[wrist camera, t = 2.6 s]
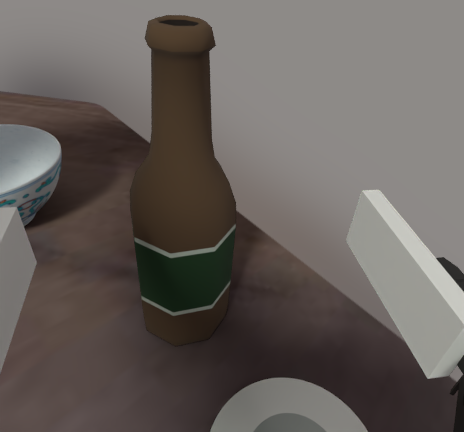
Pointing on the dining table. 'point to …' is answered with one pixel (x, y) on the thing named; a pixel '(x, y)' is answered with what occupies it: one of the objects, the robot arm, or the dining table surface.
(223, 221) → the beer bottle
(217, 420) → the plinth
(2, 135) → the chinaware
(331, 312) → the dining table surface
